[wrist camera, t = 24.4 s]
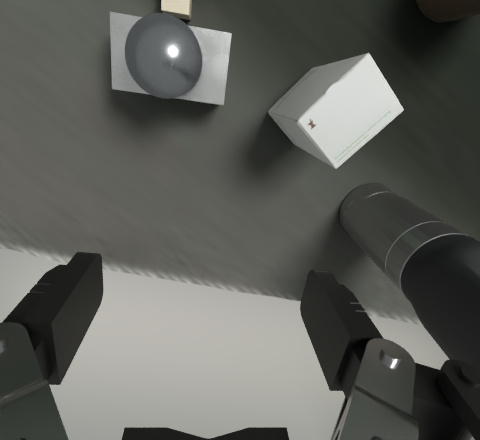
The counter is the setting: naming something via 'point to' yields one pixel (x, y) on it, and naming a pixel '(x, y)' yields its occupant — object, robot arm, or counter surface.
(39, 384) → the robot arm
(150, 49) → the grey box with ball
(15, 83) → the counter surface
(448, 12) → the pillar candle
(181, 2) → the plug rod
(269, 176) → the counter surface
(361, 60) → the skincare box
